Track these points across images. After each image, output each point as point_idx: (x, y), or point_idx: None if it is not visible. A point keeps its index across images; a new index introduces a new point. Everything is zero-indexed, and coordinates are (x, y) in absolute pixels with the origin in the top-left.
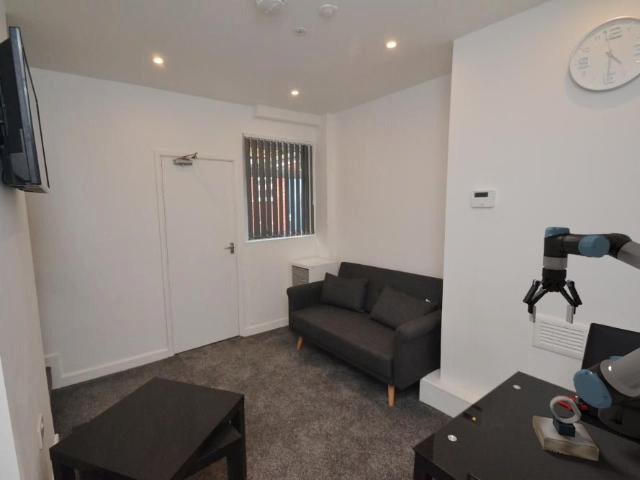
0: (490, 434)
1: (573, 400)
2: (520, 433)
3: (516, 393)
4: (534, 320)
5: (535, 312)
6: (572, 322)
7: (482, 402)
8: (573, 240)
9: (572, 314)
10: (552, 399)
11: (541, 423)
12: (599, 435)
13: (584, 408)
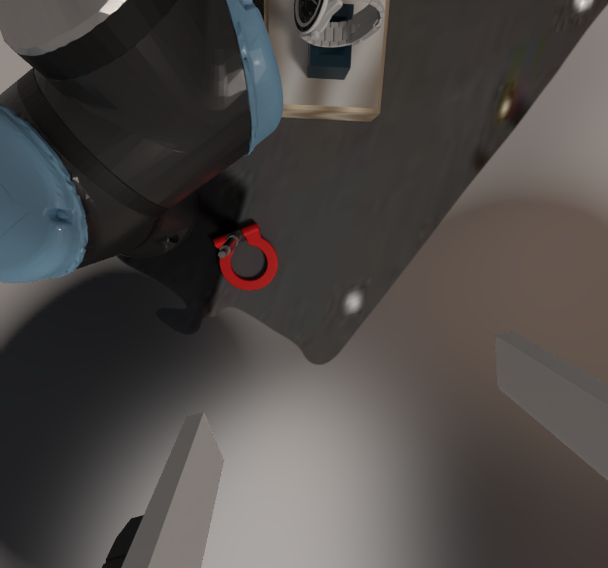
0: (486, 42)
1: (234, 273)
2: (411, 72)
3: (363, 267)
4: (521, 343)
5: (602, 397)
6: (186, 424)
7: (461, 193)
8: None
9: (161, 499)
10: (382, 10)
11: (374, 68)
12: None
13: (221, 236)
